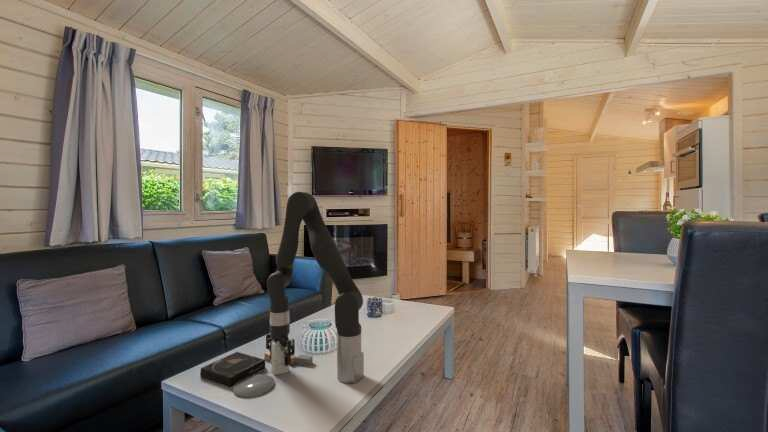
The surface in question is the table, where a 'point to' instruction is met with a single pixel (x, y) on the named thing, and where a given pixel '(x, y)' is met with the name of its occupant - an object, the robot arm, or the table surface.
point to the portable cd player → (232, 368)
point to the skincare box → (278, 359)
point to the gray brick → (304, 360)
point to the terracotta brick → (267, 356)
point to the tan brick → (293, 360)
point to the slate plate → (253, 385)
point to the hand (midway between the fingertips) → (280, 362)
